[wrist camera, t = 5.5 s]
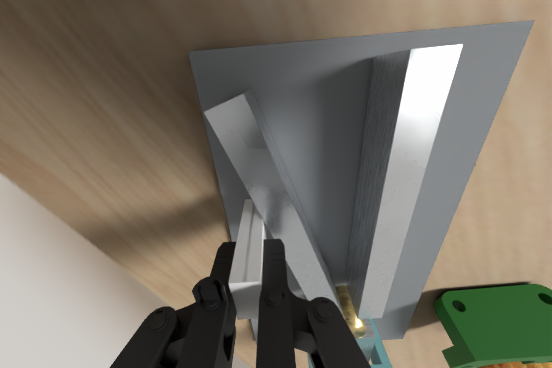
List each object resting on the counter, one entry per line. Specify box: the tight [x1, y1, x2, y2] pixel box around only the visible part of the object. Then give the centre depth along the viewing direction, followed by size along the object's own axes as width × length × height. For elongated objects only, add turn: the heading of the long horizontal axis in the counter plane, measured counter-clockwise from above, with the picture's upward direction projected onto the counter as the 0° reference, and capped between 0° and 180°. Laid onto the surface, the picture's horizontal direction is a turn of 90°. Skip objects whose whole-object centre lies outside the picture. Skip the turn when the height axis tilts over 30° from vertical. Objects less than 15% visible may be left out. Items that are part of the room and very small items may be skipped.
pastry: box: [477, 361, 552, 368], centre depth 28 cm, size 9×7×4 cm
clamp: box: [434, 284, 552, 368], centre depth 21 cm, size 12×6×9 cm, turn 91°
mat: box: [188, 20, 535, 344], centre depth 19 cm, size 32×18×1 cm, turn 4°
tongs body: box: [336, 45, 462, 363], centre depth 17 cm, size 31×4×4 cm, turn 4°
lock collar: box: [307, 318, 392, 368], centre depth 21 cm, size 3×8×7 cm, turn 94°
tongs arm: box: [204, 89, 345, 319], centre depth 15 cm, size 19×2×4 cm, turn 22°
